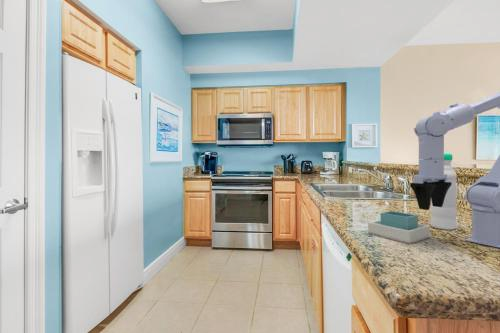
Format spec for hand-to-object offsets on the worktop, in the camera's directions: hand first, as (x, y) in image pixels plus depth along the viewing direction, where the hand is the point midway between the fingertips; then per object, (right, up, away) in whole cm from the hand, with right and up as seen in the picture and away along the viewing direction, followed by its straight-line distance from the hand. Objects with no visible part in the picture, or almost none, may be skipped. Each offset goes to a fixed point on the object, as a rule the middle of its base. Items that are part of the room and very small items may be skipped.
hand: (430, 208), depth 70 cm
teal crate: (-6, -9, +6) cm, 12 cm away
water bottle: (+15, -9, +15) cm, 23 cm away
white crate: (-6, -9, +6) cm, 13 cm away
